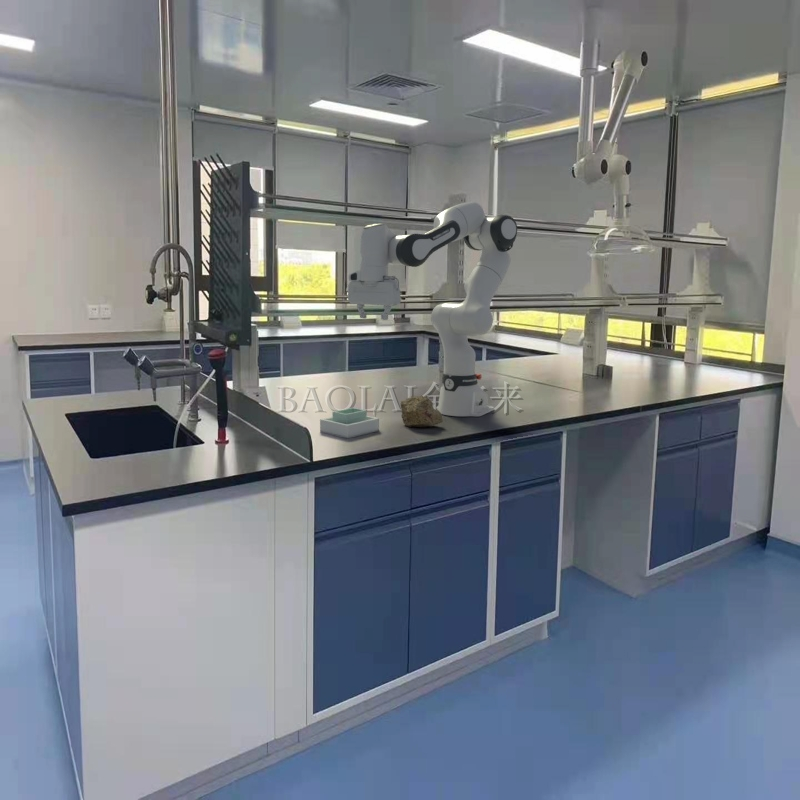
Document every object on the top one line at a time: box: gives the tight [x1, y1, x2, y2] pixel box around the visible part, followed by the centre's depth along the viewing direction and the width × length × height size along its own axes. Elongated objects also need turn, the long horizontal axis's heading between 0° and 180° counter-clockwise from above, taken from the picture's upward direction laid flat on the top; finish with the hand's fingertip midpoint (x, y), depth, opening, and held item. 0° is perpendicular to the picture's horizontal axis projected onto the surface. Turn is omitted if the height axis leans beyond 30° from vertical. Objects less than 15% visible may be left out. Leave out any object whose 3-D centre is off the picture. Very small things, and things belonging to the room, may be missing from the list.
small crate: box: [332, 407, 368, 424], centre depth 207 cm, size 9×6×6 cm, turn 140°
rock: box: [400, 395, 443, 428], centre depth 217 cm, size 11×12×10 cm
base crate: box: [319, 415, 380, 440], centre depth 207 cm, size 14×12×4 cm
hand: (373, 319), depth 215 cm, fingers open, 8 cm apart
